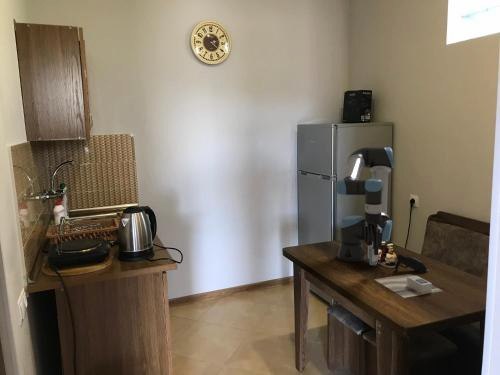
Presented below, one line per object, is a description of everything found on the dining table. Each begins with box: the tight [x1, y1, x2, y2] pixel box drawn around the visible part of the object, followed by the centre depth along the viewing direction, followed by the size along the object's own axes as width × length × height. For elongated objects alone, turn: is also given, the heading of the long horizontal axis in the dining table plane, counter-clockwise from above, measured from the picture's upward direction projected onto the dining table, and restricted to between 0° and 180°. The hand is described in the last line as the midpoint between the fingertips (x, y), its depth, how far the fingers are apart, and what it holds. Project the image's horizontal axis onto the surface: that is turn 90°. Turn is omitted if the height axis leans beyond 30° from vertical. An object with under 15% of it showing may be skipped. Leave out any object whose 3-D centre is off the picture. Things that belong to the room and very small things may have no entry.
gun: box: [394, 253, 429, 273], centre depth 202 cm, size 3×16×10 cm, turn 79°
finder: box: [407, 275, 433, 295], centre depth 180 cm, size 10×5×4 cm, turn 16°
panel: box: [374, 273, 443, 299], centre depth 185 cm, size 22×20×1 cm
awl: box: [368, 242, 377, 266], centre depth 195 cm, size 3×3×11 cm
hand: (372, 259), depth 195 cm, fingers closed on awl, 3 cm apart
